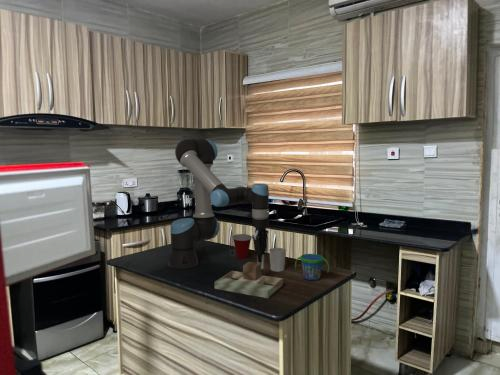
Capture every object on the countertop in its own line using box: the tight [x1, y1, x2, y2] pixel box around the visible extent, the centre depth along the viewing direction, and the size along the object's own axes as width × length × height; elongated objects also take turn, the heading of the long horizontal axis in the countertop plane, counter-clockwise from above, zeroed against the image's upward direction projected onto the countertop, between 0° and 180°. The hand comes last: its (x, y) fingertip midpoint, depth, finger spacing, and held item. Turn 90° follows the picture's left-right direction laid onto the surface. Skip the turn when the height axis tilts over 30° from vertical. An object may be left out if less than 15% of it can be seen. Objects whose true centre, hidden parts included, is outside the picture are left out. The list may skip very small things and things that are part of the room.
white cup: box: [268, 247, 286, 273], centre depth 187 cm, size 8×8×10 cm
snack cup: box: [294, 253, 330, 281], centre depth 174 cm, size 16×10×10 cm
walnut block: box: [242, 261, 262, 281], centre depth 167 cm, size 6×6×6 cm
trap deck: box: [214, 270, 284, 299], centre depth 164 cm, size 25×16×3 cm, turn 64°
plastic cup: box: [232, 233, 253, 260], centre depth 208 cm, size 11×11×12 cm
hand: (260, 268), depth 175 cm, fingers closed
